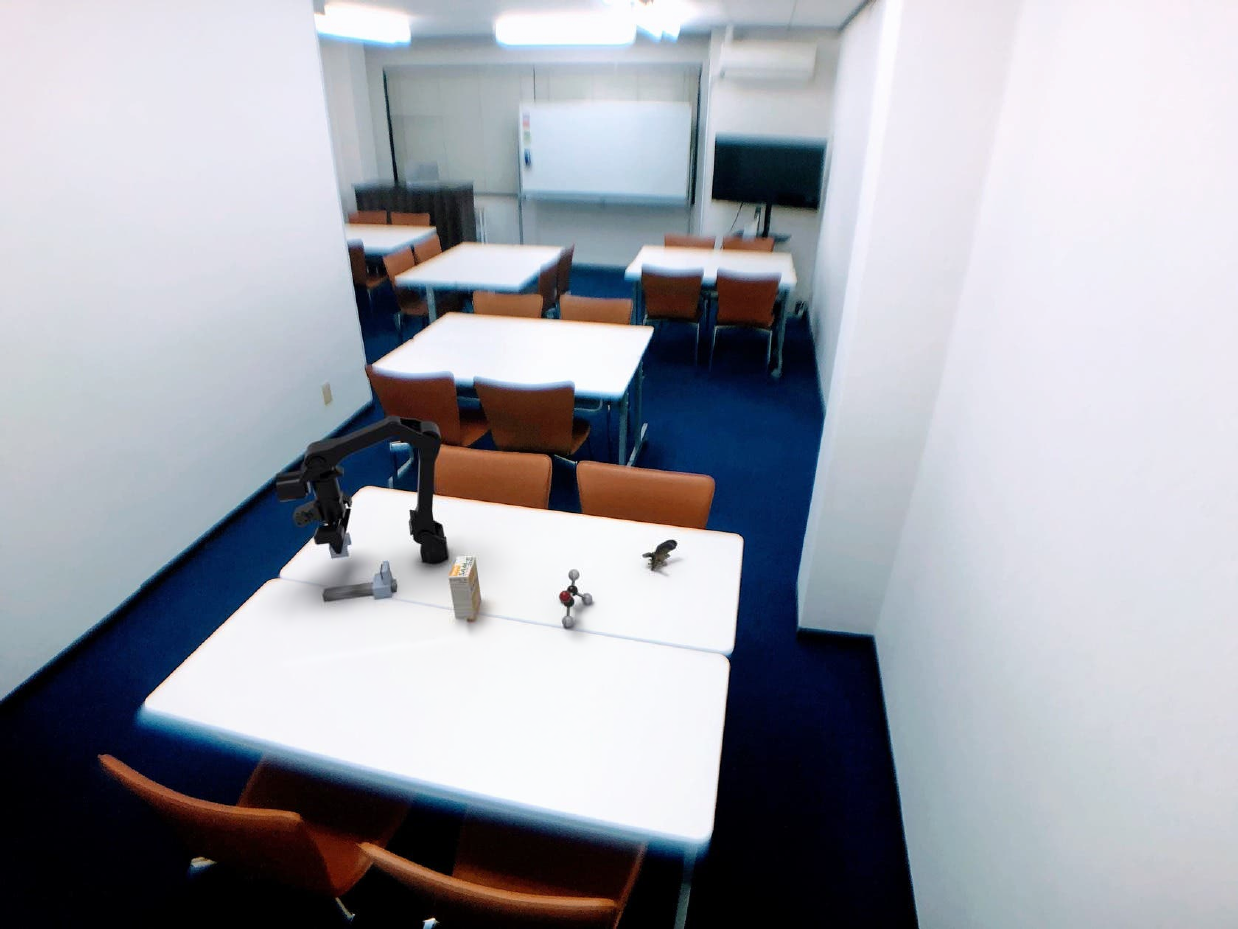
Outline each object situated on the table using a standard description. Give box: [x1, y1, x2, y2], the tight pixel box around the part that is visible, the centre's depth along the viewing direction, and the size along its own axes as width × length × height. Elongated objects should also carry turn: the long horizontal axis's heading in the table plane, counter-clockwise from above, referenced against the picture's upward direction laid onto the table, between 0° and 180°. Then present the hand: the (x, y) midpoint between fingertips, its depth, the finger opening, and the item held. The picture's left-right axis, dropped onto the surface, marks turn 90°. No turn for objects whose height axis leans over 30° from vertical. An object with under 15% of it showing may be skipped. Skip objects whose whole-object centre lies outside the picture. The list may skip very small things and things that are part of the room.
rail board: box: [322, 578, 398, 603], centre depth 171 cm, size 18×9×3 cm, turn 102°
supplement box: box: [448, 556, 482, 622], centre depth 163 cm, size 8×5×13 cm, turn 179°
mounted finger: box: [372, 560, 394, 600], centre depth 170 cm, size 4×6×7 cm, turn 12°
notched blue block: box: [328, 532, 352, 560], centre depth 172 cm, size 4×6×7 cm, turn 12°
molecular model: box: [558, 569, 593, 628], centre depth 162 cm, size 8×12×11 cm
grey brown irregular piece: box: [641, 539, 678, 571], centre depth 180 cm, size 8×7×9 cm
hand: (340, 546), depth 173 cm, fingers closed on notched blue block, 6 cm apart
